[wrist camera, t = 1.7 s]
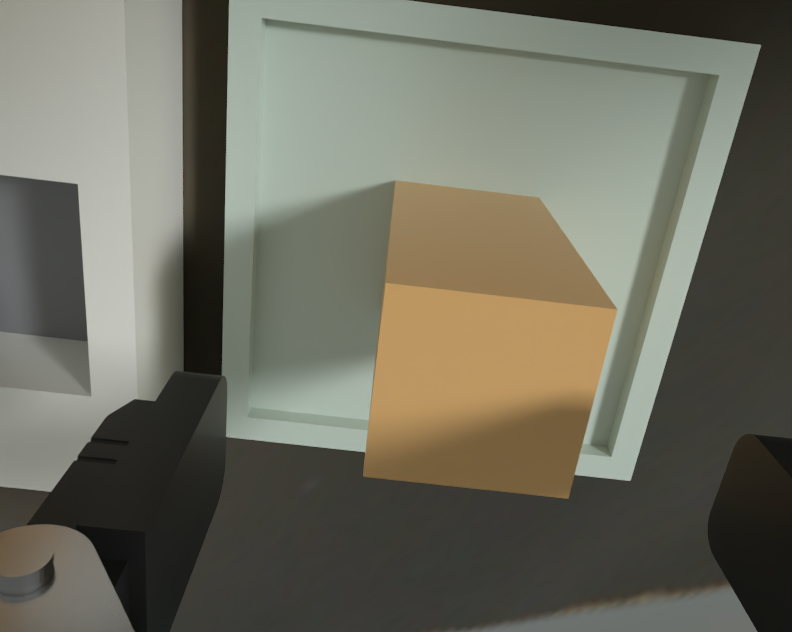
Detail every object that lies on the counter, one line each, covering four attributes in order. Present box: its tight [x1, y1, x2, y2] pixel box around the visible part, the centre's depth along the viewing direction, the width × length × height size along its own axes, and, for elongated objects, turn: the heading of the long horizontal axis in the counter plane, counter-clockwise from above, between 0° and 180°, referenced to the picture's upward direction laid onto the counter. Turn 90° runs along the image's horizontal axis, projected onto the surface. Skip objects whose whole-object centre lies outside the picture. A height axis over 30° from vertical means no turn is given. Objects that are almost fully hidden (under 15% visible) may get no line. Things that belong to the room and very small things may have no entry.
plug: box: [363, 180, 618, 499], centre depth 16 cm, size 4×4×8 cm
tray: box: [222, 0, 761, 481], centre depth 20 cm, size 13×13×1 cm
